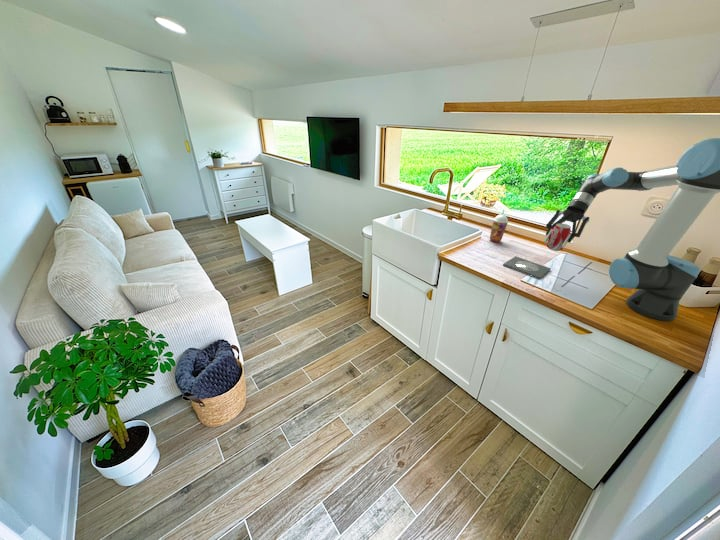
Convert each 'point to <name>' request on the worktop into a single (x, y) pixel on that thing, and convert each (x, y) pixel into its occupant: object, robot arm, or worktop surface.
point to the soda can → (558, 236)
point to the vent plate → (527, 267)
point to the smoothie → (498, 228)
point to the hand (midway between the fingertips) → (553, 244)
